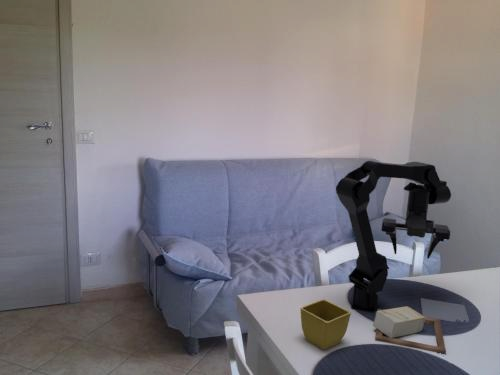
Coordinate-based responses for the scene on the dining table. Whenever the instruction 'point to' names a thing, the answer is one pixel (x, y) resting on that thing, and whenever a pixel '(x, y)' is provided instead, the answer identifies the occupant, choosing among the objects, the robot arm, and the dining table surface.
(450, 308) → the grey square plate
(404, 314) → the skincare box
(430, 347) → the walnut holder frame
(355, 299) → the robot arm
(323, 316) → the flower pot
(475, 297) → the dining table surface
